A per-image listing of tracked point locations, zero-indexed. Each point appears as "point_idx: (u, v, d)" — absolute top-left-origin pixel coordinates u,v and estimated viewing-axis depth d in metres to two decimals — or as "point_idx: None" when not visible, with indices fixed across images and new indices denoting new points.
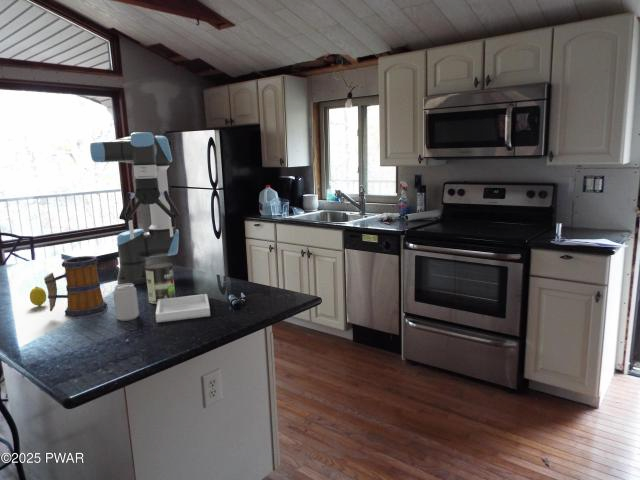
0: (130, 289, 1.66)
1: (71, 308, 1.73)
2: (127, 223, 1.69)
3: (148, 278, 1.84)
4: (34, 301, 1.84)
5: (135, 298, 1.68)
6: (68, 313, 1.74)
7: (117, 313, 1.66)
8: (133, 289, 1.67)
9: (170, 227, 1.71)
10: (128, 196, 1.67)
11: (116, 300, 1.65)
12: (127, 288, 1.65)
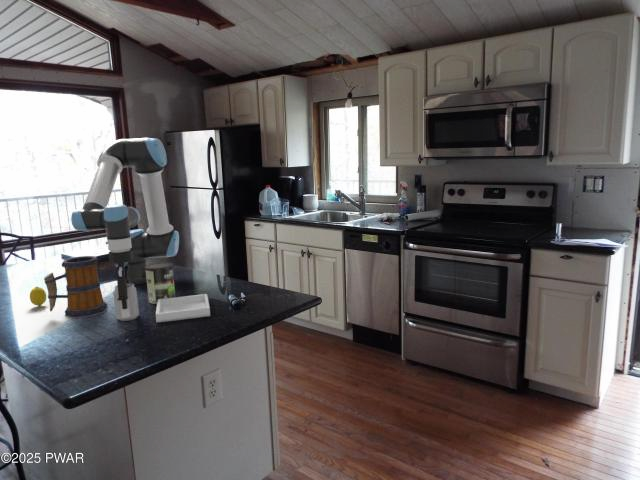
0: (130, 289, 1.66)
1: (71, 308, 1.73)
2: None
3: (148, 278, 1.84)
4: (34, 301, 1.84)
5: (135, 298, 1.68)
6: (68, 313, 1.74)
7: (117, 313, 1.66)
8: (133, 289, 1.67)
9: None
10: None
11: (116, 300, 1.65)
12: (127, 288, 1.65)
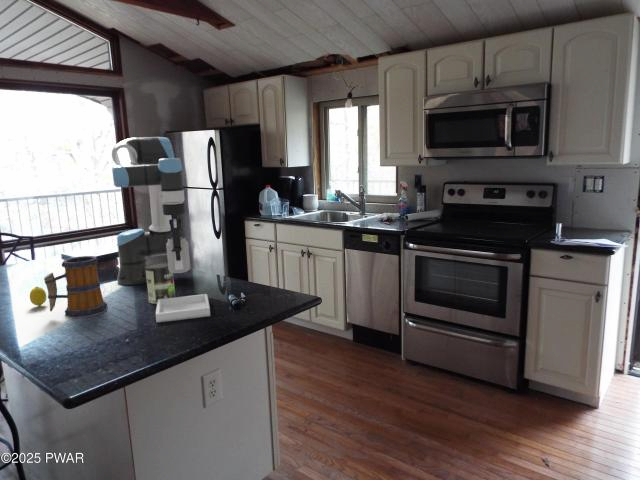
0: (183, 241, 1.68)
1: (71, 308, 1.73)
2: None
3: (148, 278, 1.84)
4: (34, 301, 1.84)
5: (187, 251, 1.70)
6: (68, 313, 1.74)
7: (170, 265, 1.69)
8: (186, 242, 1.69)
9: (174, 260, 1.67)
10: None
11: (169, 252, 1.67)
12: (180, 240, 1.68)
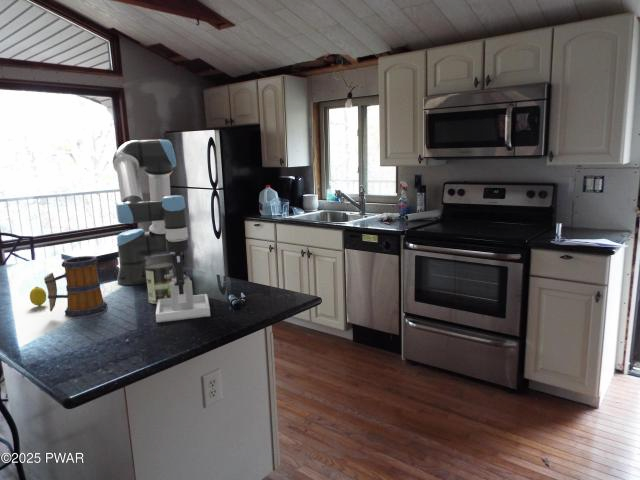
0: (187, 281, 1.71)
1: (71, 308, 1.73)
2: None
3: (148, 278, 1.84)
4: (34, 301, 1.84)
5: (191, 290, 1.73)
6: (68, 313, 1.74)
7: (174, 304, 1.71)
8: (189, 281, 1.72)
9: (177, 293, 1.66)
10: None
11: (173, 292, 1.70)
12: (184, 280, 1.71)
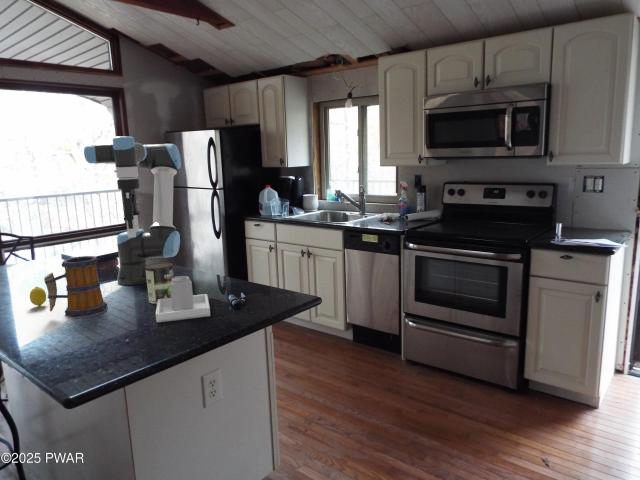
0: (187, 281, 1.71)
1: (71, 308, 1.73)
2: None
3: (148, 278, 1.84)
4: (34, 301, 1.84)
5: (191, 290, 1.73)
6: (68, 313, 1.74)
7: (174, 304, 1.71)
8: (189, 281, 1.72)
9: (127, 228, 1.76)
10: None
11: (173, 292, 1.70)
12: (184, 280, 1.71)
